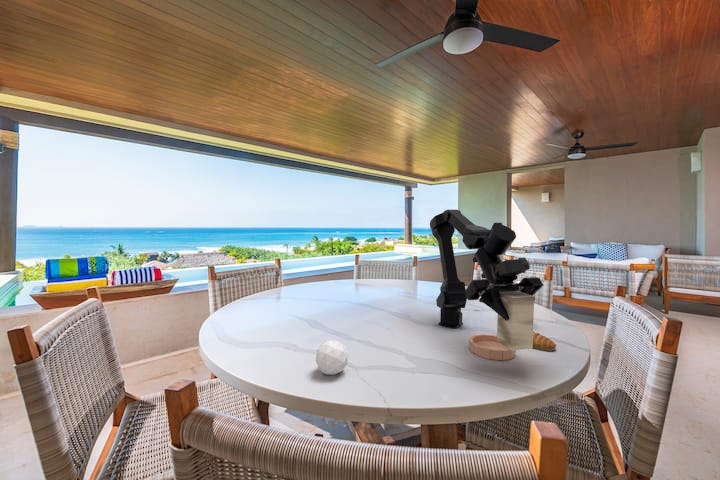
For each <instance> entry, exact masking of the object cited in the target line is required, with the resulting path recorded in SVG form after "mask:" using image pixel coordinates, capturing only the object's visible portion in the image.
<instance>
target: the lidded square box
mask: <svg viewBox="0 0 720 480" xmlns="http://www.w3.org/2000/svg"><path fill="white" fill-rule="evenodd" d="M499 294H500V298H501V300H502V303H503V305H504V307H505V309H506V311H507V313H508V316H509V320H507V321H506V320H505V319H503V318H502V317H501V316H500V315H499V314H497V323H496V324H497V327H496V329H497V330H496V332H497V333H496V336H497V341H498V342H499V343H501V344H502V345H504V346H505V347H507V348H509V349H510V350H516V351H519V350H530V349H532V350H533V349H534V348H533V332H534V319H535V318H534V316H535V315H534V313H535V312H534V311H535V310H534V309H535V300H536V296H535V295H534V296H532V295H529V294H526V293H523V292H520V291H508V292H499Z"/></svg>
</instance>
